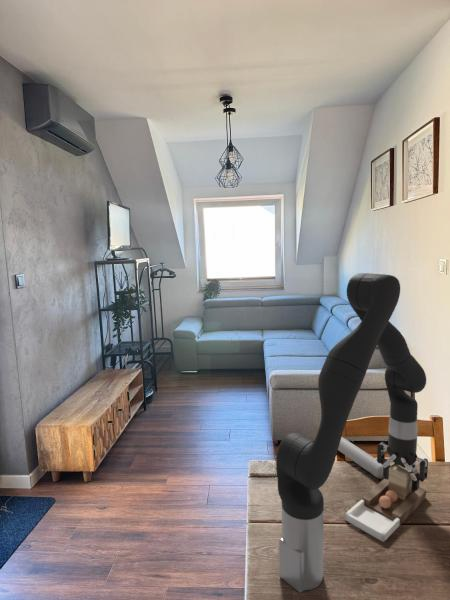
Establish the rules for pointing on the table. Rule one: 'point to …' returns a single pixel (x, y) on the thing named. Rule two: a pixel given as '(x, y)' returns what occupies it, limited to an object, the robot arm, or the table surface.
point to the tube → (361, 458)
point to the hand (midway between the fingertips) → (400, 484)
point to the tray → (371, 521)
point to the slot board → (397, 508)
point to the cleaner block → (400, 481)
